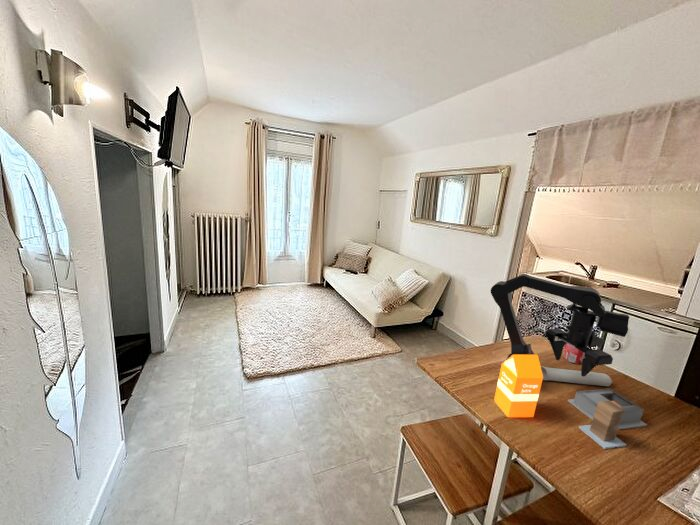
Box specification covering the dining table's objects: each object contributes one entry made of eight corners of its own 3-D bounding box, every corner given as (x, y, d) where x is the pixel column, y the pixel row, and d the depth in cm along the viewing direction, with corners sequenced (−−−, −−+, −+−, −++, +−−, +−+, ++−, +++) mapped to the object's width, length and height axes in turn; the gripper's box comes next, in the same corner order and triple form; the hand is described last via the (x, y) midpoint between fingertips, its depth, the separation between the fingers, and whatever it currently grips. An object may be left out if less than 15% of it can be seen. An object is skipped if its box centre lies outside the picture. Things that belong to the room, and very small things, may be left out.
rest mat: (604, 449, 78) (605, 447, 78) (578, 427, 85) (578, 425, 85) (625, 446, 79) (626, 444, 79) (598, 425, 87) (598, 423, 86)
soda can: (577, 358, 126) (584, 334, 123) (584, 366, 119) (591, 341, 117) (559, 354, 128) (565, 331, 125) (565, 362, 121) (572, 338, 119)
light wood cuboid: (603, 441, 80) (613, 412, 78) (589, 430, 84) (598, 401, 81) (614, 439, 81) (624, 410, 78) (600, 428, 84) (608, 400, 82)
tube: (603, 371, 110) (538, 364, 111) (615, 375, 105) (547, 368, 106) (603, 385, 109) (538, 378, 111) (615, 389, 104) (547, 382, 106)
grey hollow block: (607, 431, 84) (611, 417, 83) (567, 400, 97) (570, 388, 96) (646, 426, 87) (651, 412, 86) (603, 397, 100) (606, 385, 99)
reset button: (614, 414, 91) (616, 407, 90) (604, 407, 94) (606, 401, 93) (621, 413, 91) (623, 407, 91) (611, 406, 94) (613, 400, 94)
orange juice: (493, 400, 95) (504, 348, 90) (517, 400, 96) (529, 348, 91) (508, 418, 87) (520, 361, 83) (534, 417, 88) (547, 361, 84)
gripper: (633, 338, 83) (619, 384, 87) (574, 313, 101) (564, 351, 104) (603, 340, 81) (590, 386, 84) (548, 314, 99) (539, 353, 102)
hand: (569, 367), depth 94 cm, fingers open, 9 cm apart
